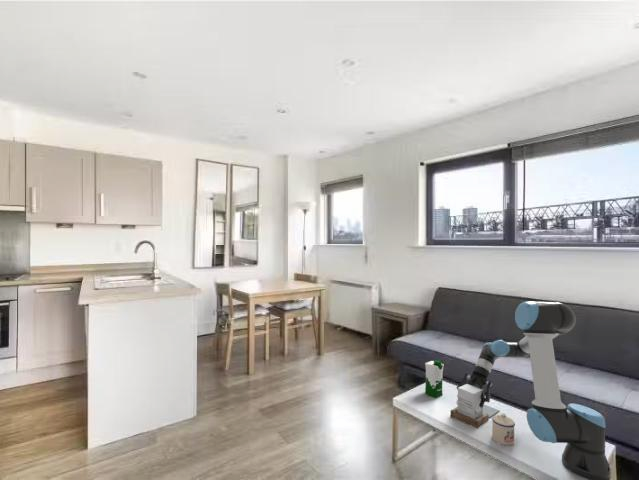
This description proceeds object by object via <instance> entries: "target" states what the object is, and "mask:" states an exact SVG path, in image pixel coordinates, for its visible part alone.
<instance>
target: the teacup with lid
mask: <svg viewBox="0 0 639 480" xmlns="http://www.w3.org/2000/svg"><path fill="white" fill-rule="evenodd" d="M491 421H492V427H491V428H492V430H491V437H492V439H493V441H495V442H496V443H498V444H500V445H503V446H507V447H508V446H509V447H511V446H513V445H514V444H515V426H516V422H515V421H514V420H513V419H512V418H511V417H508V416H507V415H506V413H504V412H503V413H500V414H495V415H494V416H492V417H491Z"/></svg>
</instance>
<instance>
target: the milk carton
mask: <svg viewBox="0 0 639 480" xmlns="http://www.w3.org/2000/svg"><path fill="white" fill-rule="evenodd" d="M424 365H425V366H424V367H425V388H424V389H425V390H424V394H425V395H428V396H430V397H432V398H434V399H437V398H439V397H441V396H443V372H444V365H445V364H443V363H442V361H441V360H439V359H435V360H430V361H427V362H425V363H424Z"/></svg>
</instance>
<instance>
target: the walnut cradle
mask: <svg viewBox="0 0 639 480" xmlns="http://www.w3.org/2000/svg"><path fill="white" fill-rule="evenodd" d="M488 416H489V414H484V415H483V416H481V417H479V418H478V419H476V420H474V419H472V418H470V417H467V416H465V415H463V414H460V413H458V406H456V407H455V408H452V409H451V410H450V418H453V419H456V420H458V421H459V422H461V423H465V424H466V425H469V426H471V427H473V428H474V429H478V428H479V427H480V426H482V425H484V424H485V423H487V422H488V421H489V418H488Z"/></svg>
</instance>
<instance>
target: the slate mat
mask: <svg viewBox="0 0 639 480" xmlns="http://www.w3.org/2000/svg"><path fill="white" fill-rule="evenodd" d="M500 411H501V410H499V409H498V408H495V407H492V406H489V405H486V404H484V405H483V415H484V414H489V416H488V419H492V417H493V416H494V415H498V413H500Z"/></svg>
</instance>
